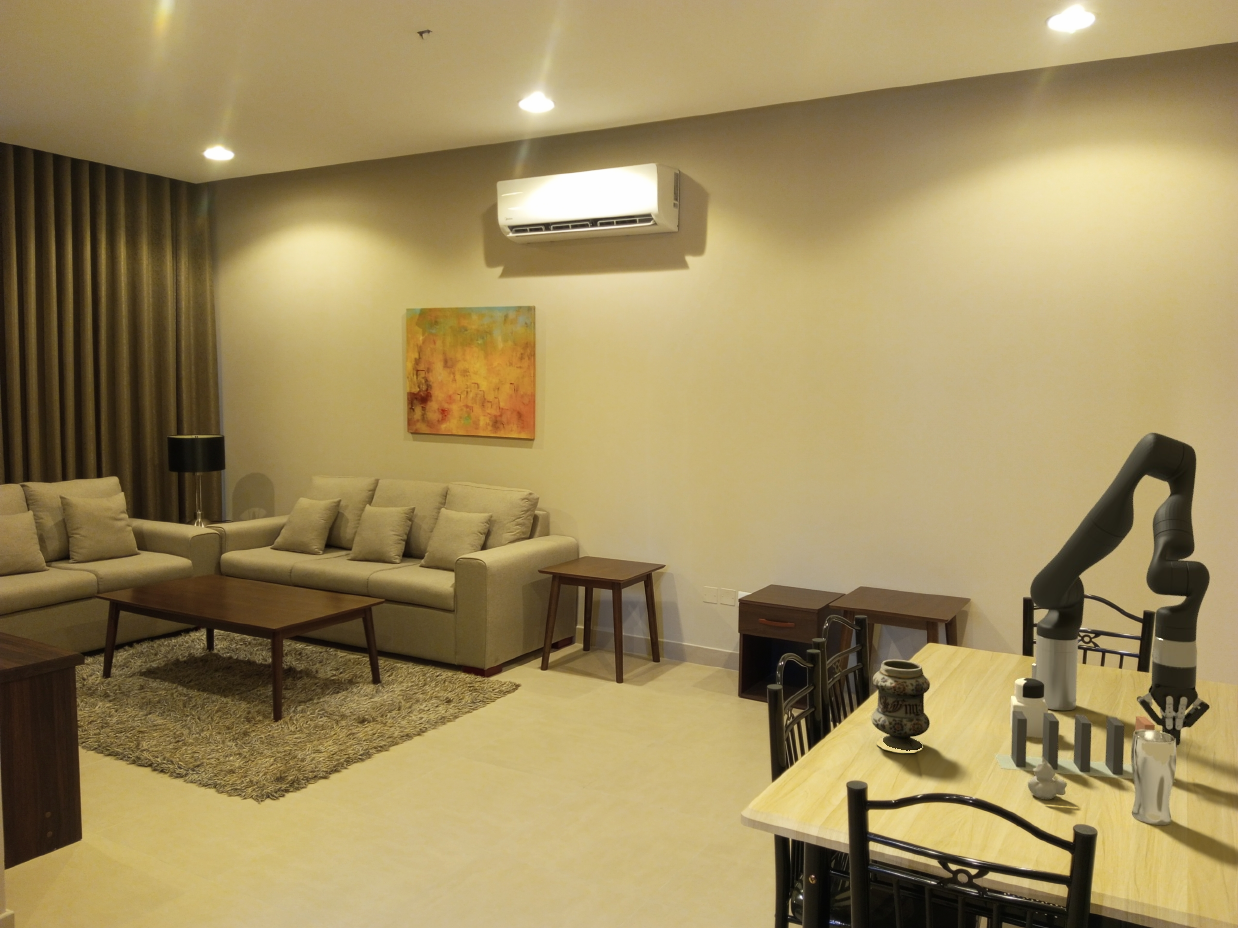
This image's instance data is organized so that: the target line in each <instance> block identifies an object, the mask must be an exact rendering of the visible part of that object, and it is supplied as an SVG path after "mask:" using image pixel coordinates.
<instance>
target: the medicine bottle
mask: <svg viewBox="0 0 1238 928" xmlns="http://www.w3.org/2000/svg"><path fill="white" fill-rule="evenodd" d="M1013 711H1022V712H1023V714H1024V715H1025V717H1026V718H1027V737H1031V738H1038V739H1043V715H1044V713H1049V709H1048V708H1047V705H1046V702H1045V699H1044V684H1043V683H1042V682H1041V681H1039V680H1036V679H1032V677H1030V678H1029V677H1021V678H1018V679H1016V680H1015V681H1014V695H1011V697H1010V714H1009V715H1010V718H1009V719H1010V721H1009V725H1010V730H1011V732H1012V712H1013Z"/></svg>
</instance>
